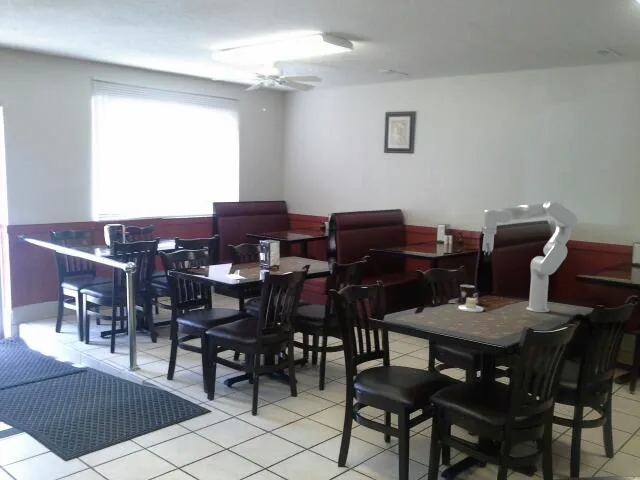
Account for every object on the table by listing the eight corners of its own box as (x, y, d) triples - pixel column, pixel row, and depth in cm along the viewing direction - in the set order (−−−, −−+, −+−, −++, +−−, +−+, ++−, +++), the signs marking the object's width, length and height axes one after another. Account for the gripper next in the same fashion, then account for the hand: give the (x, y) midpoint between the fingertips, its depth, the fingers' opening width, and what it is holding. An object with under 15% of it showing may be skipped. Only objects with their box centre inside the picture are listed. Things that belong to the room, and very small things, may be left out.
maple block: (467, 306, 338) (467, 297, 337) (475, 307, 336) (476, 298, 335) (465, 307, 333) (466, 299, 332) (474, 308, 331) (475, 300, 331)
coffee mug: (456, 300, 359) (457, 284, 358) (468, 300, 361) (469, 284, 361) (466, 304, 348) (467, 288, 347) (479, 304, 350) (480, 288, 349)
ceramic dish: (460, 305, 344) (460, 303, 343) (484, 308, 338) (485, 306, 338) (456, 310, 331) (456, 308, 331) (481, 313, 325) (481, 311, 325)
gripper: (484, 229, 342) (483, 258, 344) (480, 231, 326) (478, 261, 328) (498, 230, 339) (496, 259, 341) (494, 232, 323) (492, 262, 325)
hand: (487, 260), depth 334 cm, fingers open, 9 cm apart
